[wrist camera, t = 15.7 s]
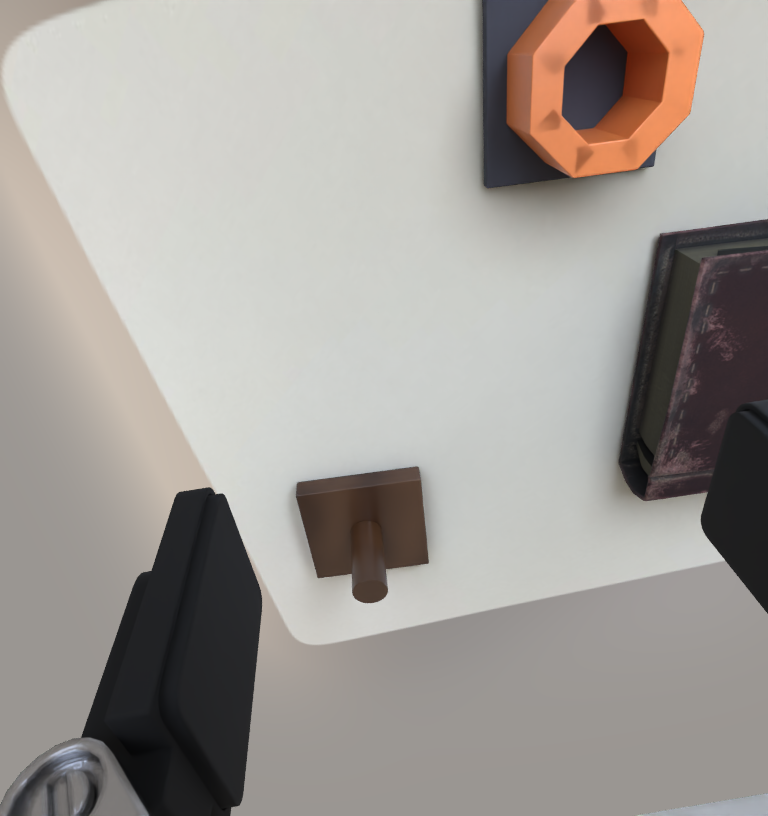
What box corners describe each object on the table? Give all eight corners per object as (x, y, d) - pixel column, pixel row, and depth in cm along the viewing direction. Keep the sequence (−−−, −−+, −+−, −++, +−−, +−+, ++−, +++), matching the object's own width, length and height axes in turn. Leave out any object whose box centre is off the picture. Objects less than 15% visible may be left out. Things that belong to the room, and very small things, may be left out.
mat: (483, 185, 30) (486, 188, 29) (481, -23, 25) (486, -25, 24) (647, 163, 30) (654, 166, 29) (678, -49, 25) (687, -51, 24)
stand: (318, 564, 45) (315, 640, 40) (296, 482, 40) (290, 555, 35) (426, 549, 45) (439, 624, 40) (418, 465, 40) (432, 536, 35)
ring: (505, 168, 29) (528, 184, 26) (507, -2, 25) (534, -9, 22) (641, 150, 29) (682, 164, 26) (665, -23, 25) (716, -33, 22)
